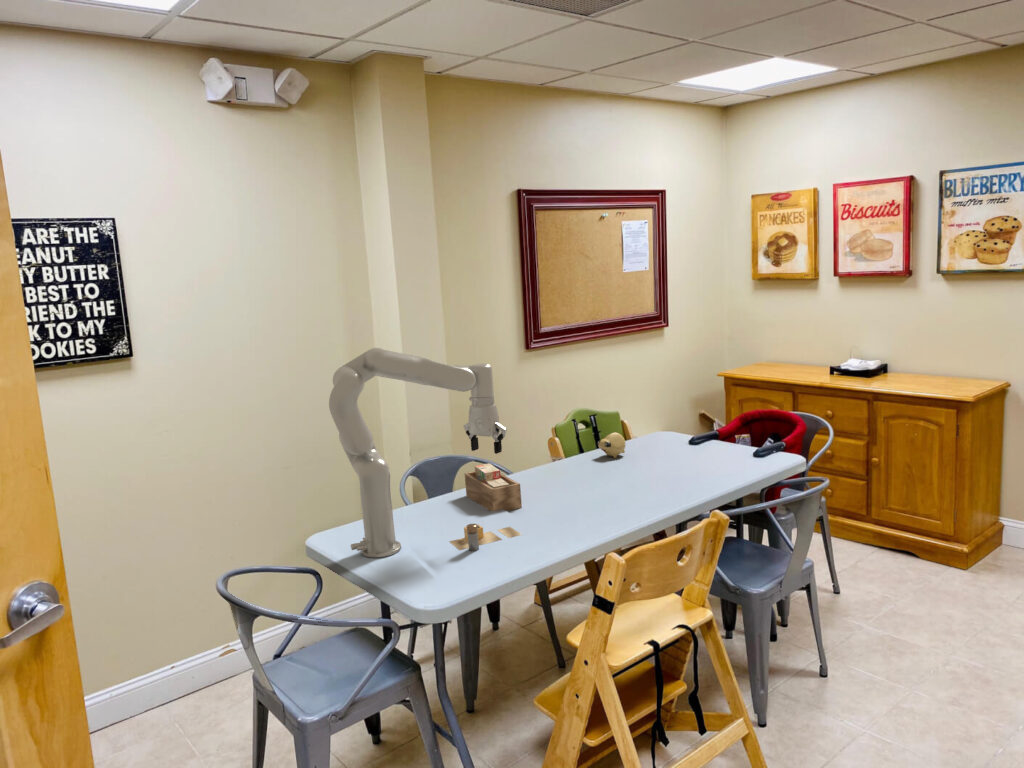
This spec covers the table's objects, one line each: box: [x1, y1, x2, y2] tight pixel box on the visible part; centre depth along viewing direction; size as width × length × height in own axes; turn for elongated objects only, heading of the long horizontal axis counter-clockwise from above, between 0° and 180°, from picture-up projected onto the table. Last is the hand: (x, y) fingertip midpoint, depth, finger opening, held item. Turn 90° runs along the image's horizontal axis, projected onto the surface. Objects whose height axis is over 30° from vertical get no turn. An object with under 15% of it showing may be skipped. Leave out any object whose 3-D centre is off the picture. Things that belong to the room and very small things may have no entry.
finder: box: [463, 523, 484, 540], centre depth 246 cm, size 5×4×4 cm
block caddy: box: [464, 470, 523, 513], centre depth 285 cm, size 11×26×9 cm, turn 26°
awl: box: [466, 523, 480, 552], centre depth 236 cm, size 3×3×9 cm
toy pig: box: [597, 431, 626, 459], centre depth 334 cm, size 10×12×11 cm
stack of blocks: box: [474, 462, 509, 489], centre depth 284 cm, size 21×6×12 cm, turn 20°
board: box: [449, 526, 522, 551], centre depth 246 cm, size 22×9×1 cm, turn 116°
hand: (486, 451), depth 254 cm, fingers open, 9 cm apart
